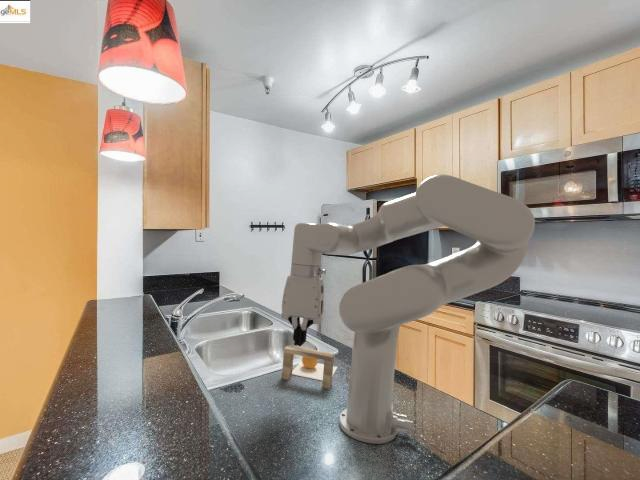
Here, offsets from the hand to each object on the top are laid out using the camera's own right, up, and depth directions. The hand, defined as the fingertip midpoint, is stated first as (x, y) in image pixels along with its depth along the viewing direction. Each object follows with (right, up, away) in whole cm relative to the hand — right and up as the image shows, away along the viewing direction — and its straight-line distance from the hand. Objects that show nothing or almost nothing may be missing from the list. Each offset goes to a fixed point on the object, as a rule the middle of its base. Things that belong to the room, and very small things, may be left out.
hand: (299, 344), depth 78 cm
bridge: (+1, -14, +9) cm, 17 cm away
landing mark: (+4, -14, +18) cm, 23 cm away
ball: (+2, -12, +19) cm, 23 cm away
